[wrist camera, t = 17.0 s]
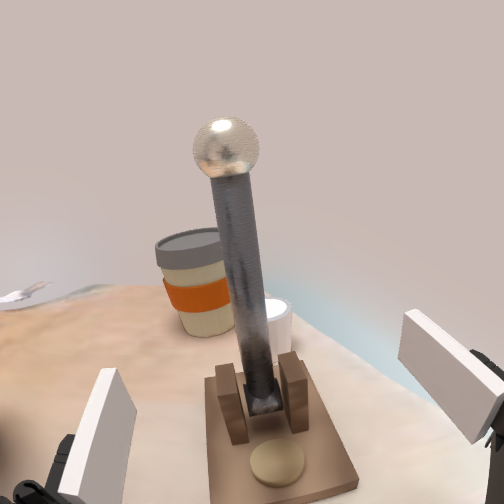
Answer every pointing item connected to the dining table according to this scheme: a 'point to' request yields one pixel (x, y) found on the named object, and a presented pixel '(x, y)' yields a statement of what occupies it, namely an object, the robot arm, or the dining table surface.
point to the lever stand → (273, 442)
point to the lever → (240, 251)
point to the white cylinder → (279, 325)
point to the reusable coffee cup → (196, 280)
